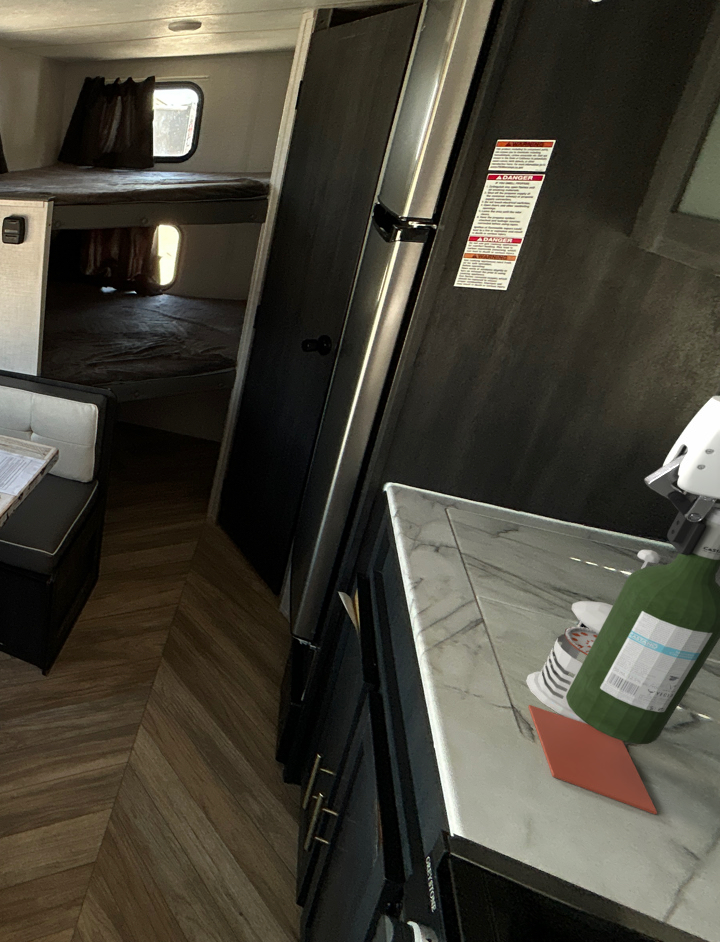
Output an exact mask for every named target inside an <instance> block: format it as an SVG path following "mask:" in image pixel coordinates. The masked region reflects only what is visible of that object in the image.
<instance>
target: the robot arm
mask: <svg viewBox="0 0 720 942" xmlns="http://www.w3.org/2000/svg"><path fill="white" fill-rule="evenodd" d="M676 481H677V482H676ZM643 482H644V483H645V484H646V486H647V487H648V488H649V489H650V490H653V491H654V492H656V493H657V494H659V495H661V496H662V497H664V498H665V499H668V500H669V501H670V502H671V503H672V504H673V506H674V507H675V508H676V509H677V511H678V513H677V515H676V516H675V518H674V520H673V522H672V524H671V526H670V528H669V529H668V532H667V535H666V538H667V539H668V540H669V541H668V542H669V543H670V544H671V545H672V546H673V548H674V549H675V550H676V551H677V553H678V554H679V553H680V554H683V555H691V554H692V552H693V551H694V549H695V547H696V545H697V544H698V542H699V540H700V538H701V536H702V535H703V533H704V531H705V529H706V525H705V524H704V523H703V522H702V521H703V519H704V517H705V515H706V514H707V512H708V511H709V510H710V508H711V507H712V506H713V504H714V503H717V501H718V500H720V395H713V396H711V398H709V399H708V401H707V402H706V403H705V404H704V405H703V406H702V407H701V408H700V409H699V410H698V411H697V413H696V414H695V415H694V417H693V418H692V419H691V420H690V421H689V423H688V424H687V426H685V428H684V430H683V431H682V432H681V433H680V435H679V437H678V439H677V440H676V441H675V443H674V444H673V446H672V447H671V449H670V451H669V453H668V454H667V456H666V458H665V460H664V461H663V464H662V466H661V467H660V468H658V469H657V470H656V471H654V472H652V473H651V474H649V475H647V476H646V477H645V478H644V479H643ZM675 482H676V483H677V487H675V486H674V485H673V483H675ZM679 488H680V489H681V490H683V491H681V490H680V489H679Z"/></svg>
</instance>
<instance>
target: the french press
mask: <svg viewBox="0 0 720 942" xmlns="http://www.w3.org/2000/svg"><path fill="white" fill-rule="evenodd" d="M636 557H638V558H639V559H640V560H642V561H644V562H643V563H642V566H641V568H640V569H642V568H645V567H647V565H648V563H650V564H659V563H660V561H661V560H662V559H661V558H662V557H661V556H660V555H659V554H658V553H657V551H655V550H652V549H641V550H639V551H638V553H637V555H636ZM613 605H614V604H613ZM613 605H612V604H609V603H606V602H600V601H592V600H591V601H590V600H589V601H587V600H580V601H576V602H573V603H572V604H571V610H572V613H573V614H574V615H575V617H576V618H577V620H578V621H579V623H578V624H577V626H570V627H568V628H566V629H565V631H564V633H563V634H561V635H560V636H558V637H557V638H556V640H555V642H554V646H552V648H551V650H550V652H549V654H548V656H547V660H546V661H545V662H544V664H543V666H542V668H541V670H540V671H535V672H531V673H529V674H528V675H527V677H526V680H525V683H526V684H527V686H528V688H529V691H530V692H531V693H532V694H533V695H534V696H535V697H536V698H537V699H538V700H539V701H540V702H541V703H542V704H543V705H545V706H546V707H548V708H549V709H551V710H552V711H554V712H555V713H556V714H558V715H562V716H565V717H568V718H571V719H574V720H577V721H580V722H583V723H586V722H584V721H583V720H582V719H581V718H580V717H578V716H577V715H576V714H575V713H574V712H573V710H572V709H571V708H570V707H569V705H568V702H567V699H566V695H567V693H568V690H569V689H570V687H571V685H572V683H573V681H574V679H575V677H576V675H577V673H578V671H579V670H580V668H581V666H582V664H583V662H581V661H580V660H577V658H578V656H579V655H580V653H582V654H584V655H585V656H587V654H588V653H589V651H590V649H591V647H592V645H593V643H594V641H595V639H596V637H597V635H598V634H599V632H600V630H601V628H602V626H603V624H604V622H605V620H606V618H607V616H608V615H609V613H610V611H611V609H612V607H613ZM581 625H584V626H585V627H584V626H583V627H582V626H581ZM560 643H561V644H560ZM570 673H571V674H573V675H574V676H573V675H570ZM586 724H587V723H586Z"/></svg>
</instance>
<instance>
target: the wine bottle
mask: <svg viewBox="0 0 720 942" xmlns="http://www.w3.org/2000/svg"><path fill="white" fill-rule="evenodd" d="M702 522H703V523H704V524H705V525H706V529H705V531H704V533H703V535H702V536H701V538H700V540H699V542H698V544H697V545H696V547H695V549H694V551H693V552H692V554H691V555H683V554H680V553H679V552H678V554H677V555H676V557H675V559H674V560H672V561H671V562H670V563H668V564H657V565H651V566H645V568H642V567H641V568H642V569H641V568H639V569H638V570H635V571H633V572H631V573H630V574H629V576H628V577H627V579H626V580H625V582H624V584H623V586H622V588H621V589H620V591H619V594H618V596H617V598H616V599H615V601H614V603H613V607H612V609H611V611H610V613H609V615H608V616H607V618H606V620H605V622H604V624H603V626H602V628H601V630H600V632H599V634H598V635H597V637H596V639H595V641H594V643H593V645H592V647H591V649H590V651H589V653H588V654H587V655H585V658H584V660H583V662H582V663H583V664H582V666H581V668H580V670H579V671H578V673H577V675H576V677H575V679H574V681H573V683H572V685H571V687H570V689H569V690H568V693H567V695H566V699H567V702H568V705H569V707H570V708H571V709H572V710H573V712H574V713H575V714H576V715H577V716H578V717H580V718H581V719H582V720H583V721H584V722H586V723H587V724H589V725H590V726H592V727H593V728H595V729H596V730H598V731H600V732H602V733H604V734H606V735H608V736H610V737H613V738H616V739H619V740H621V741H623V743H624V742H625V743H629V744H634V745H649V744H651V743H653V742H655V741H657V740H658V738H659V737H660V735H661V734H662V731H663V730H664V728H666V725H667V724H668V722H669V720H670V719H671V717H672V716H673V714H674V712H675V711H676V709H677V708H678V706H679V705H680V702H682V700H683V698H684V697H685V695H686V693H687V692H688V690H689V689H690V687H691V685H692V683H693V682H694V680H695V679H696V677H697V676H698V673H699V672H700V671H701V669H702V667H703V666H704V665H705V663H706V661H707V659H708V658H709V656H710V655H711V654H712V651H713V650H714V648H715V647H716V645H717V643H718V642H719V641H720V585H719V584H718V582H717V580H716V575H717V573H718V571H719V569H720V503H717V502H715V503H714V504H713V506H712V507H711V508H710V510H709V511H708V512H707V514H706V515H705V517H704V519H703V521H702Z"/></svg>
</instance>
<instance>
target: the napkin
mask: <svg viewBox="0 0 720 942" xmlns="http://www.w3.org/2000/svg"><path fill="white" fill-rule="evenodd" d="M528 709H529V713H530V716H531V719H532V722H533V724H534V727H535V731H536V733H537V736H538V738H539V739H538V740H539V741H540V744H541V748H542V750H543V753H544V756H545V759H546V762H547V764H548V767H549V770H550V774H551V777H553V778H555V779H558V780H561V781H563V782H566V783H569V784H571V785H574V786H577V787H579V788H582V789H585V790H588V791H590V792H594V793H595V794H599V795H601V796H604V797H606V798H609V799H612V800H615V801H617V802H620V803H623V804H626V805H629V806H632V807H634V808H637V809H639V810H642V811H645V812H646V813H647V812H648V813H650V814H653V815H657V814H658V811H657V809H656V807H655V804H654V802H653V801H652V798H651V797H650V795H649V792H648V790H647V788H646V786H645V784H644V782H643V779H642V778H641V776H640V774H639V771H638V770H637V768H636V766H635V763H634V761H633V760H632V757H631V755H630V753H629V752H628V749H627V747H626V745H625V743H624V741H621V740H619V739H616V738H613V737H610V736H608V735H606V734H604V733H602V732H600V731H598V730H596V729H595V728H593V727H592V726H590V725H589V724H586V723H583V722H580V721H577V720H574V719H571V718H568V717H565V716H563V715H560V714H559V713H556V712H553V711H550V710H547V709H543V708H540V707H537V706H534V705H532V704H528Z"/></svg>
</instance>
